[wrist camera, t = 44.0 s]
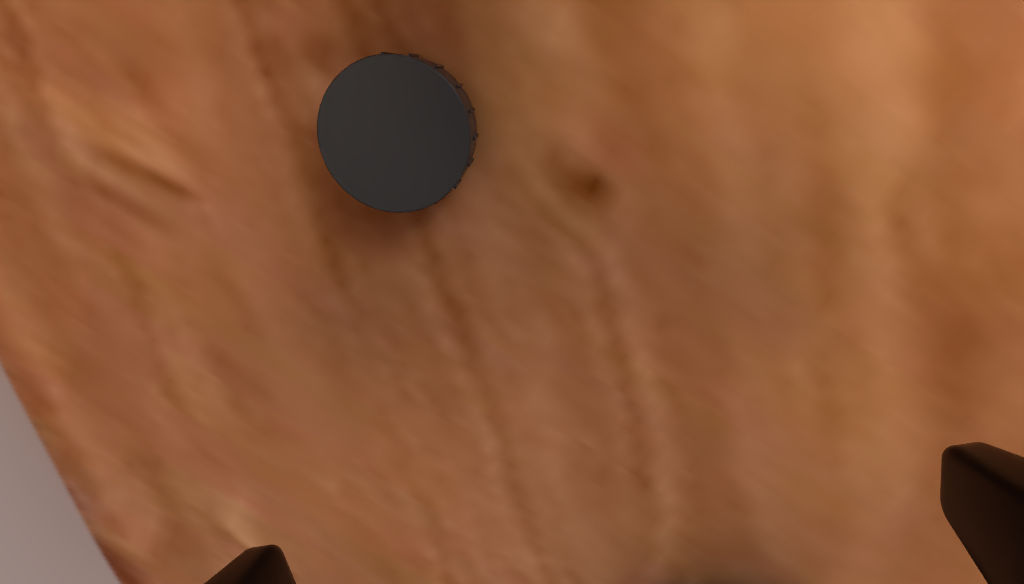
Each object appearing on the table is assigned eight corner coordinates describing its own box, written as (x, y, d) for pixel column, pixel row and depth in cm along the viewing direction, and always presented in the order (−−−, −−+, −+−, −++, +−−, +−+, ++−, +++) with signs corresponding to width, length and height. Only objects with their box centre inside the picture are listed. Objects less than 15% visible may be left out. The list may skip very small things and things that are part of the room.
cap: (352, 210, 19) (335, 223, 17) (320, 63, 18) (297, 62, 16) (487, 193, 19) (482, 205, 17) (466, 43, 17) (458, 40, 16)
